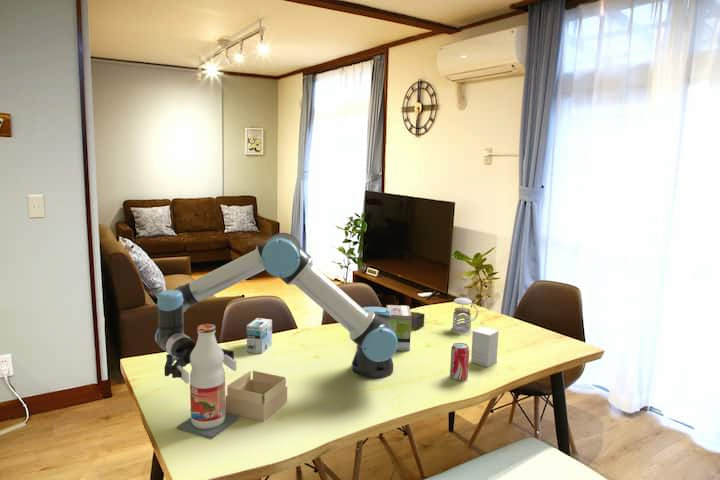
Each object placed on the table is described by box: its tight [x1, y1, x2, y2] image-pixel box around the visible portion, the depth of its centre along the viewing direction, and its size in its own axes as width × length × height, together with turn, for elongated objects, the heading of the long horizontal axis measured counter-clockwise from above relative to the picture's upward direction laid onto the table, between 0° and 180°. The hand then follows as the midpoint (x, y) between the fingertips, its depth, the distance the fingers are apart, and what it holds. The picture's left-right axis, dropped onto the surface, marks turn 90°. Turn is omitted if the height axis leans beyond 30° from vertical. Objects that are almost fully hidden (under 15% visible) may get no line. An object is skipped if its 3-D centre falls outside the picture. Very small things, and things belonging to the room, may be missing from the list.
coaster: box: [176, 412, 240, 439], centre depth 143 cm, size 12×12×1 cm
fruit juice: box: [189, 323, 227, 429], centre depth 140 cm, size 9×9×28 cm
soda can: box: [449, 342, 471, 381], centre depth 177 cm, size 6×6×12 cm
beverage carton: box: [410, 311, 426, 331], centre depth 234 cm, size 8×19×7 cm, turn 59°
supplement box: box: [470, 326, 499, 368], centre depth 191 cm, size 7×7×13 cm
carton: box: [225, 370, 288, 422], centre depth 152 cm, size 13×13×8 cm
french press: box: [450, 276, 479, 335], centre depth 226 cm, size 10×12×25 cm
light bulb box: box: [246, 317, 273, 354], centre depth 199 cm, size 11×7×11 cm, turn 168°
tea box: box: [385, 304, 412, 351], centre depth 208 cm, size 15×10×15 cm, turn 179°
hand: (212, 372), depth 138 cm, fingers open, 13 cm apart
